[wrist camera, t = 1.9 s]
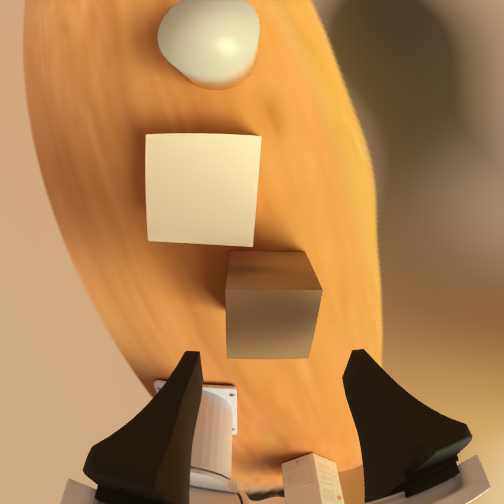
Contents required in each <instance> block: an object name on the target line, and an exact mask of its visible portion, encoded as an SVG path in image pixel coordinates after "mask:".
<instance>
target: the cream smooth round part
mask: <svg viewBox="0 0 504 504" xmlns="http://www.w3.org/2000/svg"><path fill="white" fill-rule="evenodd" d="M259 31H260V23H259V18H258V16H257V13H256V12H255V10H254V8H253V7H252V6H251V5H250V4H249V3H248V2H247V1H245V0H181V1H180V2H178V3H177V4H175V5H174V6H173V7H172V8H171V9H170V10H169V11H168V12H167V13H166V15H165V16H164V18H163V19H162V21H161V23H160V26H159V29H158V45H159V48H160V51H161V53H162V54H163V56H164V57H165V58H166V59H167V60H168V61H169V62H170V63H171V64H172V65H173V66H174V67H176V68H177V69H178V70H179V71H180V72H181V73H182V74H183V75H185V76H186V77H187V78H188V79H189V80H190V81H191V82H193V83H194V84H195V85H197V86H199V87H201V88H205V89H209V90H223V89H228V88H231V87H234V86H236V85H238V84H239V83H241V82H242V81H244V80H245V79H246V78H247V77H248V76H249V75H250V73H251V72H252V70H253V68H254V66H255V62H256V55H257V47H258V39H259Z"/></svg>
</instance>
